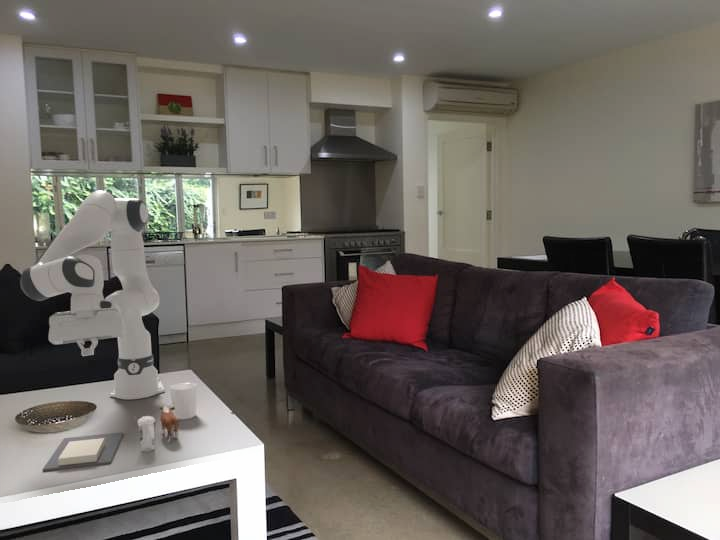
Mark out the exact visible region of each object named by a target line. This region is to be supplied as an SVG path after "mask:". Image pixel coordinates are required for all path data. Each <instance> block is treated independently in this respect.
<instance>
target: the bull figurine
mask: <svg viewBox="0 0 720 540" xmlns="http://www.w3.org/2000/svg"><path fill="white" fill-rule="evenodd" d="M174 409H175V408H174V407H173V406H172V405H170V404H169V403H167V404H165V405H164V406H159V410H160V411H162V412H161V415H160V419H159V420H160V422H161V430H162V431H161V435H162V436H163V435H166V432H167V441H166V443H167V444H170V443H171V435H174V439H175V440H176V439H177V440H178V439H179V436H178V435H179V431H178V428H179V426H180V425H179V424H180V423H179V421H180V420H179V419H177V418H176V417H175V415H174V412H173V411H174ZM165 430H167V431H165Z"/></svg>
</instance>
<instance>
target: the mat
mask: <svg viewBox="0 0 720 540" xmlns="http://www.w3.org/2000/svg"><path fill="white" fill-rule="evenodd" d="M123 437H124V432H123V431H121V432H112V433H111V432H110V433H103V434H93V435H82V436H74V437H73V436H72V437H65V438H63V439H62V441H61V442H60V444H59V445H58V446H57V448H56V449H55V451H54V452H53V453H52V455H51V456H50V458H49V460H48V461H47V462H46V464H45V465H44V466H43V468H42V472H49V471H58V470H67V469H76V468H78V469H79V468H86V467H94V466H102V465H103V466H104V465H110V464H112V462H113V459H114V457H115V455H116V452H117V450H118V448H119V446H120V443H121V441H122V438H123ZM99 438H105V445H104V447H103V449H102V451H101V453H100V455H99V457H98V459H97V461H96V462H89V463H81V464H72V465H63V466H60V465H58V458H59V457H60V455H61V453H62V452H63V450H64V449H65V447H66V446H67V444H68V443H69V442H71V441H80V440H90V439H99Z"/></svg>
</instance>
